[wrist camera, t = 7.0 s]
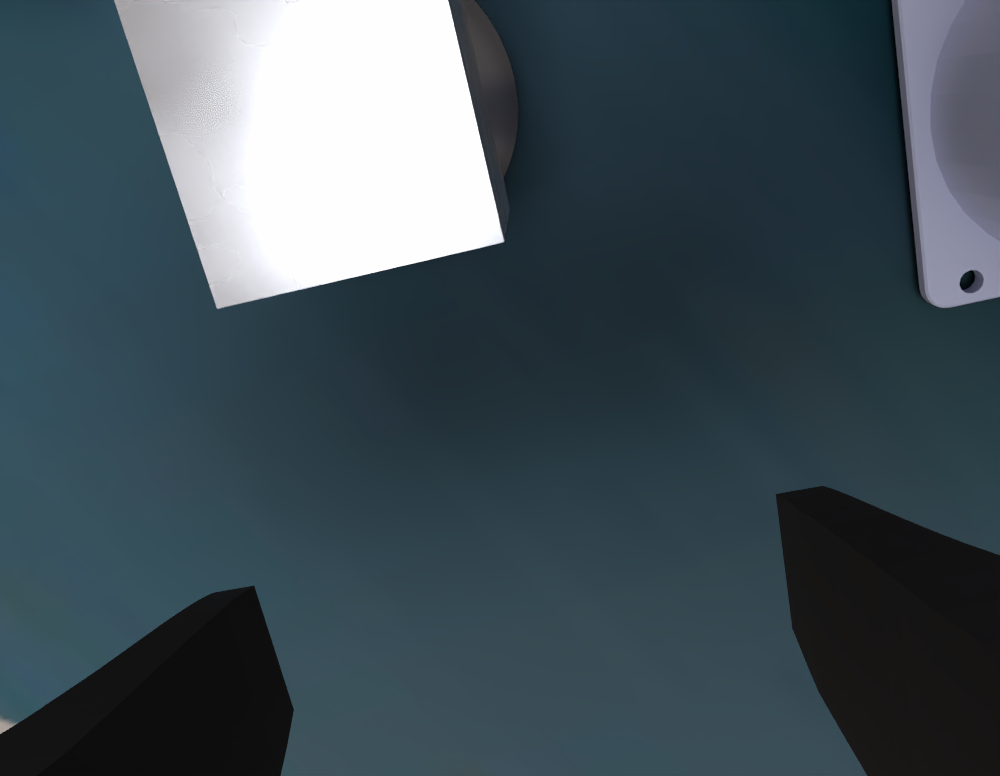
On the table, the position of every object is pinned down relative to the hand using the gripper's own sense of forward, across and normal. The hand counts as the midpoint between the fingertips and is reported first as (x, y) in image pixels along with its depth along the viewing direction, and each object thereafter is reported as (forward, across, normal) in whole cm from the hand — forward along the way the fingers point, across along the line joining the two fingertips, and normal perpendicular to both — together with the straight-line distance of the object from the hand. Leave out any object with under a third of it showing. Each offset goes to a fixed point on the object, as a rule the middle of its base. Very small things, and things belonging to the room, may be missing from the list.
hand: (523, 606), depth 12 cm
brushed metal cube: (+8, +2, -7) cm, 11 cm away
